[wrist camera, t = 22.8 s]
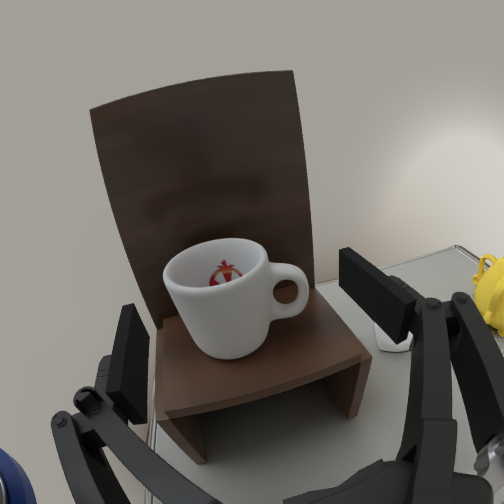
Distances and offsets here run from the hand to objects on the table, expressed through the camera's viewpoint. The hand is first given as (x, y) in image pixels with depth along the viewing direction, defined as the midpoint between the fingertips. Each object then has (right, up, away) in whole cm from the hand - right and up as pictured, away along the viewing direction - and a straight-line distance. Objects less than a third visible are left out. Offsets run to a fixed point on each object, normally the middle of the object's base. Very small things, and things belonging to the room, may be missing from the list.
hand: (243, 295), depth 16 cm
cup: (0, -5, +7) cm, 9 cm away
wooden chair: (+2, -16, +12) cm, 20 cm away
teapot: (+43, -9, +13) cm, 46 cm away
